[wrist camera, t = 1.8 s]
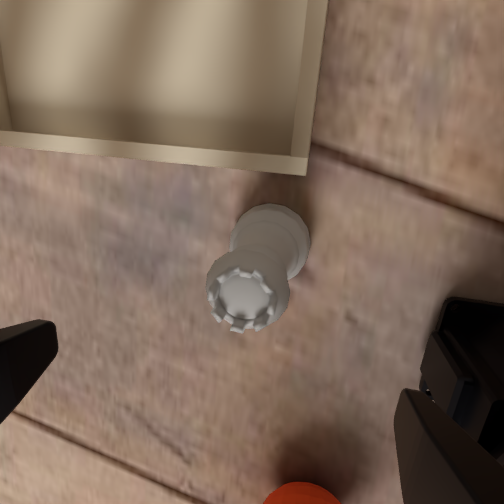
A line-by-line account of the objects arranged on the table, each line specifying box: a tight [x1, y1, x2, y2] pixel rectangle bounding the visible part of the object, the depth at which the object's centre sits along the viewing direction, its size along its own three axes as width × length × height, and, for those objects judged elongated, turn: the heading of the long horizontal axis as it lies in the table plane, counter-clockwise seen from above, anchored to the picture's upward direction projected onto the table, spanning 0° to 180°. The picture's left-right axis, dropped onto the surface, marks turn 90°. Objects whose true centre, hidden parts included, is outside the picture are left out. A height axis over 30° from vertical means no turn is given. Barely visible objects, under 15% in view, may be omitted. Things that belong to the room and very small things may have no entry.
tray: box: [0, 0, 329, 176], centre depth 16 cm, size 18×10×2 cm, turn 85°
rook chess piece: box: [206, 203, 311, 333], centre depth 15 cm, size 4×4×8 cm
